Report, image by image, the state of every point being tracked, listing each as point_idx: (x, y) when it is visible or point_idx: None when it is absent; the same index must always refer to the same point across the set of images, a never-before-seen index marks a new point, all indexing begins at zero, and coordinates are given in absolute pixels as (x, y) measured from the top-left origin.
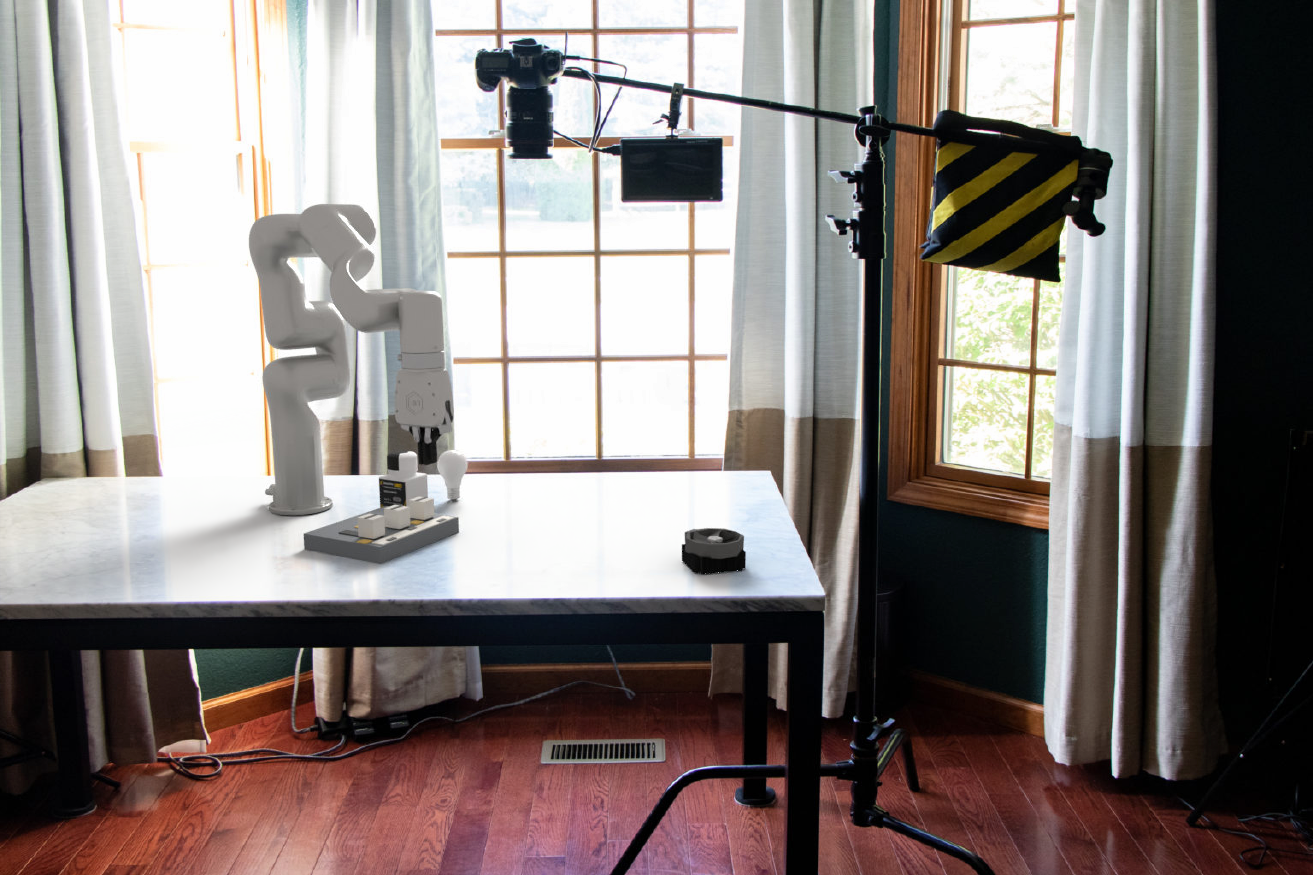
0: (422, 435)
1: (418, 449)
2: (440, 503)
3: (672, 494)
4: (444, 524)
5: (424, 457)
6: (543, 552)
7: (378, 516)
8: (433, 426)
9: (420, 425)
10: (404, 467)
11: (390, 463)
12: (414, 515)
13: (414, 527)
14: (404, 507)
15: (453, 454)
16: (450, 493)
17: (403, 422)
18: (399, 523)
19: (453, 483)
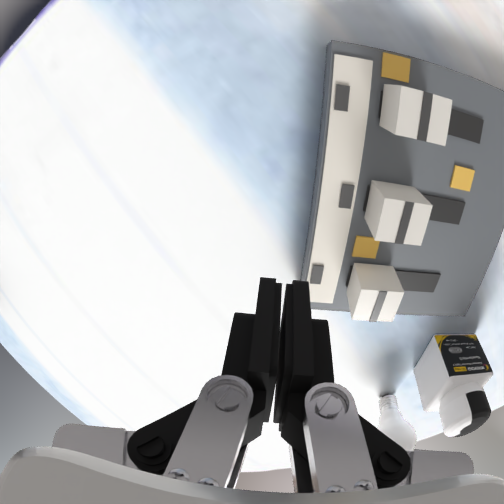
0: (304, 440)
1: (307, 338)
2: (400, 383)
3: None
4: (306, 266)
5: (263, 301)
6: (95, 239)
7: (406, 123)
8: (51, 451)
9: (203, 498)
10: (458, 402)
11: (482, 400)
12: (381, 268)
13: (343, 202)
14: (385, 230)
15: None
16: (390, 401)
17: (445, 501)
18: (375, 185)
19: (387, 415)
